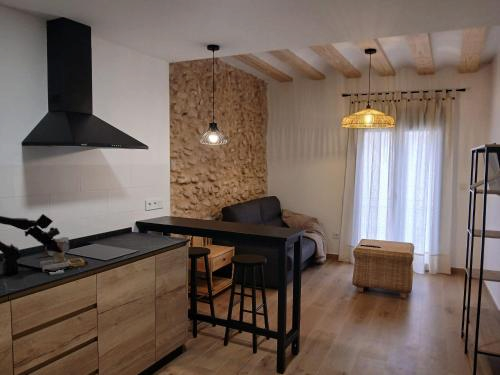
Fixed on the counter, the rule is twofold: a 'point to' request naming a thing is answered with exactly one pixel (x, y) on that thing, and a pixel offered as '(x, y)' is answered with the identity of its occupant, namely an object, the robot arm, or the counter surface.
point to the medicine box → (63, 239)
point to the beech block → (59, 256)
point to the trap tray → (76, 263)
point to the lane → (51, 264)
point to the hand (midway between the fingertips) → (61, 251)
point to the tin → (66, 249)
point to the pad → (56, 272)
